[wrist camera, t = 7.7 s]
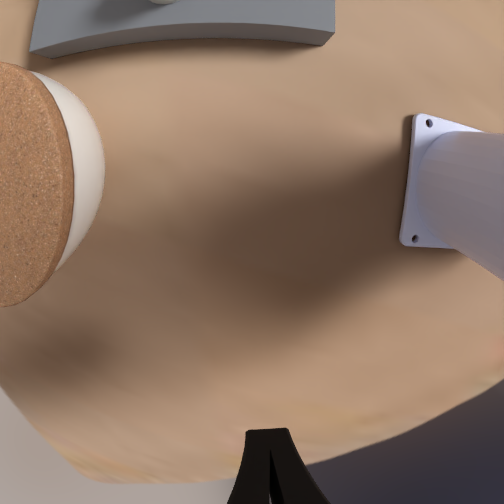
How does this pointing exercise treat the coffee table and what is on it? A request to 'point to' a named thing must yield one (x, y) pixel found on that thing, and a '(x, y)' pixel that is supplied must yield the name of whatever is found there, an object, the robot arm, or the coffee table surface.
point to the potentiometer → (163, 1)
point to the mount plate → (175, 22)
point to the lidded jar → (43, 179)
